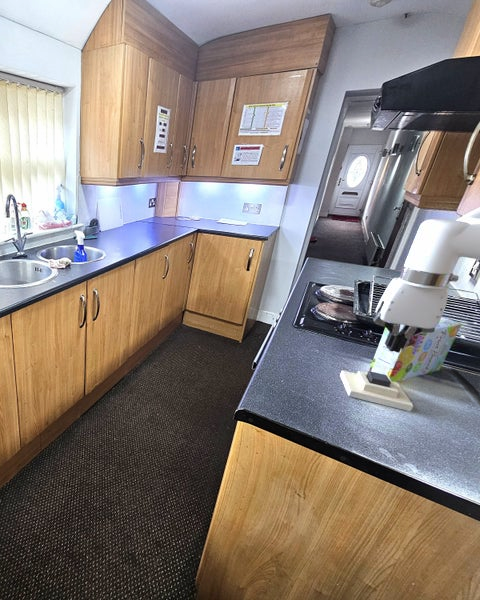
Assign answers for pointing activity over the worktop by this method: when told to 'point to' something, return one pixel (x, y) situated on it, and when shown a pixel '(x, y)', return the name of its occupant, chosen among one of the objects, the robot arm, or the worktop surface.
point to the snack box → (416, 352)
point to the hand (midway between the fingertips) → (392, 349)
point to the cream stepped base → (375, 391)
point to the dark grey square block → (378, 379)
